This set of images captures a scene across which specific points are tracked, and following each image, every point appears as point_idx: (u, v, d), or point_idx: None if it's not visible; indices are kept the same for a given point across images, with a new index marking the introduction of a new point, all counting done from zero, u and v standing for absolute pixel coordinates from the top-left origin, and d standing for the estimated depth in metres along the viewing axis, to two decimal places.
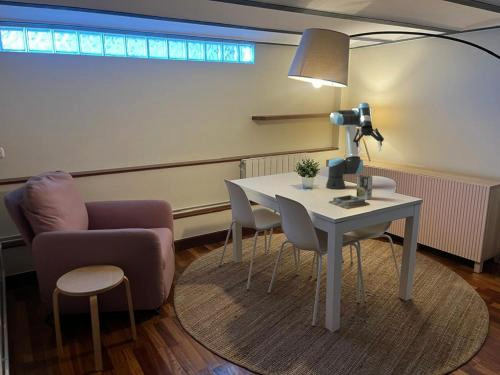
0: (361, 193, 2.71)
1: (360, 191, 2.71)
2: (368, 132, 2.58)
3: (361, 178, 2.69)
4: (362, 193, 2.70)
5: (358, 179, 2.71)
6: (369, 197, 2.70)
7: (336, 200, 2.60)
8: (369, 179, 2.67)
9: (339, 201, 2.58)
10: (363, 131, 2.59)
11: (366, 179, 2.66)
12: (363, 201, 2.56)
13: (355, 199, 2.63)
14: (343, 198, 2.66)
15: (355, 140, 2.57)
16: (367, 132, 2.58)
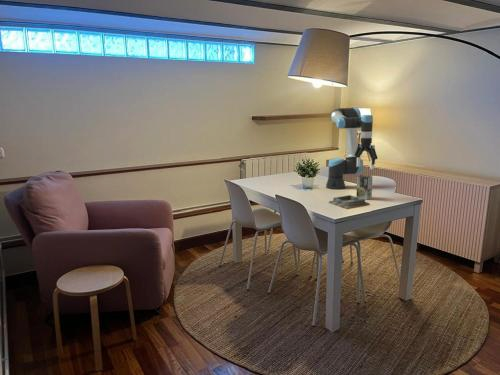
0: (361, 193, 2.71)
1: (360, 191, 2.71)
2: (365, 149, 2.65)
3: (361, 178, 2.69)
4: (362, 193, 2.70)
5: (358, 179, 2.71)
6: (369, 197, 2.70)
7: (336, 200, 2.60)
8: (369, 179, 2.67)
9: (339, 201, 2.58)
10: None
11: (366, 179, 2.66)
12: (363, 201, 2.56)
13: (355, 199, 2.63)
14: (343, 198, 2.66)
15: (356, 155, 2.75)
16: (364, 149, 2.66)
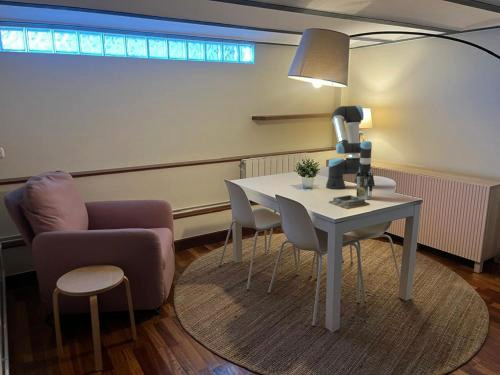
0: (361, 193, 2.71)
1: (360, 191, 2.71)
2: (364, 174, 2.69)
3: (361, 178, 2.69)
4: (362, 193, 2.70)
5: (358, 179, 2.71)
6: (369, 197, 2.70)
7: (336, 200, 2.60)
8: None
9: (339, 201, 2.58)
10: (361, 173, 2.72)
11: (366, 179, 2.66)
12: (363, 201, 2.56)
13: (355, 199, 2.63)
14: (343, 198, 2.66)
15: (356, 181, 2.78)
16: (363, 174, 2.70)
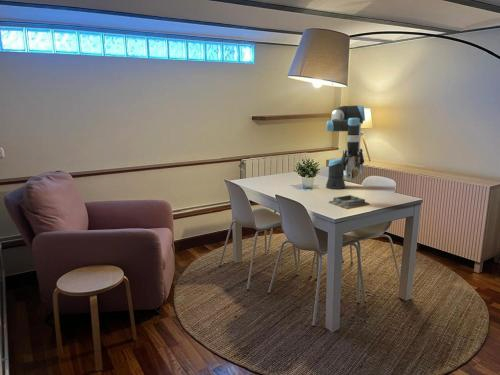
0: (355, 173, 2.55)
1: (355, 171, 2.54)
2: (354, 153, 2.54)
3: (355, 157, 2.52)
4: (356, 173, 2.55)
5: (353, 159, 2.51)
6: None
7: (336, 200, 2.60)
8: None
9: (339, 201, 2.58)
10: (350, 152, 2.52)
11: (359, 157, 2.55)
12: (363, 201, 2.56)
13: (355, 199, 2.63)
14: (343, 198, 2.66)
15: (343, 164, 2.53)
16: (353, 153, 2.53)
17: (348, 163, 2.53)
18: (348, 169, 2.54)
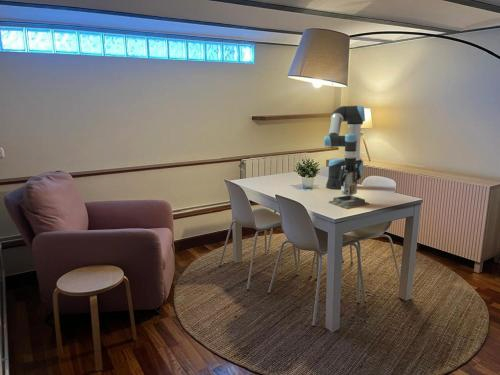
0: (353, 189, 2.56)
1: (352, 187, 2.55)
2: (351, 169, 2.54)
3: (353, 173, 2.53)
4: (354, 189, 2.56)
5: (351, 175, 2.52)
6: None
7: (336, 200, 2.60)
8: None
9: (339, 201, 2.58)
10: (347, 168, 2.53)
11: (356, 172, 2.56)
12: (363, 201, 2.56)
13: (355, 199, 2.63)
14: (343, 198, 2.66)
15: (341, 180, 2.53)
16: (350, 169, 2.54)
17: (346, 179, 2.53)
18: (346, 185, 2.54)
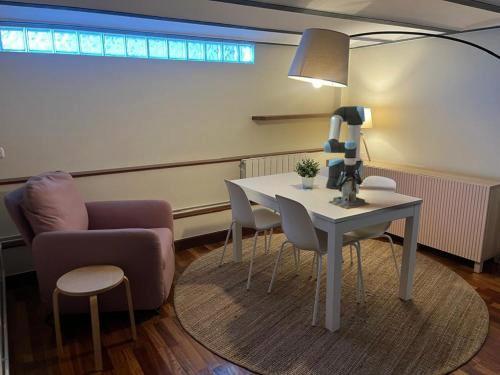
0: (352, 197, 2.57)
1: (352, 195, 2.56)
2: (351, 175, 2.55)
3: (352, 181, 2.54)
4: (353, 197, 2.58)
5: (350, 183, 2.53)
6: None
7: (336, 200, 2.60)
8: None
9: (339, 201, 2.58)
10: (347, 175, 2.54)
11: (355, 181, 2.57)
12: (363, 201, 2.56)
13: None
14: None
15: (339, 185, 2.53)
16: (350, 175, 2.55)
17: (345, 187, 2.55)
18: (345, 193, 2.55)
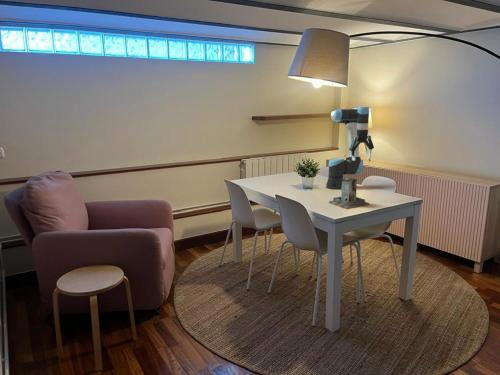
0: (352, 197, 2.57)
1: (352, 195, 2.56)
2: (363, 140, 2.66)
3: (352, 181, 2.54)
4: (353, 197, 2.58)
5: (350, 183, 2.53)
6: None
7: (336, 200, 2.60)
8: None
9: (339, 201, 2.58)
10: (360, 139, 2.64)
11: (355, 181, 2.57)
12: (363, 201, 2.56)
13: None
14: None
15: (352, 150, 2.64)
16: (362, 140, 2.66)
17: (345, 187, 2.55)
18: (345, 193, 2.55)
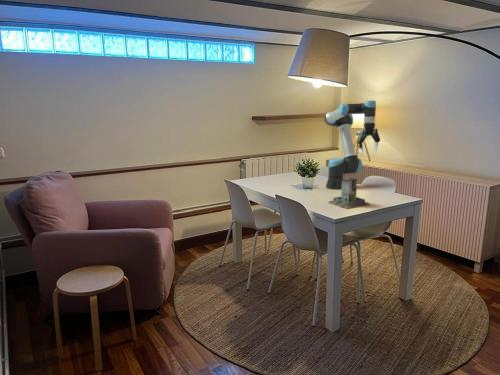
0: (352, 197, 2.57)
1: (352, 195, 2.56)
2: (370, 133, 2.74)
3: (352, 181, 2.54)
4: (353, 197, 2.58)
5: (350, 183, 2.53)
6: None
7: (336, 200, 2.60)
8: None
9: (339, 201, 2.58)
10: (367, 132, 2.73)
11: (355, 181, 2.57)
12: (363, 201, 2.56)
13: None
14: None
15: (360, 142, 2.72)
16: (369, 133, 2.74)
17: (345, 187, 2.55)
18: (345, 193, 2.55)
